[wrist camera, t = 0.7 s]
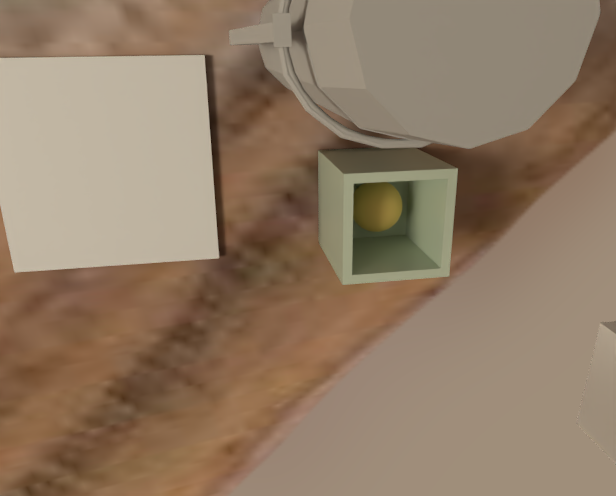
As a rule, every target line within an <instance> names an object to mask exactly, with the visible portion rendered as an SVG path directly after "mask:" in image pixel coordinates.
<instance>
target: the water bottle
mask: <svg viewBox="0 0 616 496" xmlns="http://www.w3.org/2000/svg"><path fill="white" fill-rule="evenodd" d="M600 13H601V12H600V0H269V1H268V3H267V4H266V5H265V6H264V7H263V9H262V14H261V19H260V24H259V25H255V26H250V27H245V28H239V29H234V30H229V38H230V45H252V44H258V45H259V48H260V51H261V55H262V58H263V61H264V64H265V68H266V69H267V70H268V71H269V72H271V73H272V74H273V75H274V76H275V77H276V78H277V79H278V80H279V81H280V82H281V83H282V84H283V85H284V86H285V87H286V88H288V89H290V90H292V91H293V92H294V93H295V95H296V97H297V98H298V100H299V101H300V103H301V104H302V106H303V107H304V109H305V110H306V111H307V112H308V113H309V114H310V115H312V116H313V117H314V118H316V119H317V120H318V121H320V122H321V123H322V124H324V125H325V126H326V127H327V128H329V129H330V130H331V131H333V132H334V133H335V134H337V135H338V136H339V137H341V138H344V139H347V140H351V141H355V142H359V143H363V144H366V145H370V146H374V147H378V148H422V147H424V146H427V145H429V144H432V143H437V144H443V145H449V146H455V147H461V148H467V149H471V148H474V147H477V146H480V145H483V144H486V143H489V142H492V141H495V140H498V139H501V138H504V137H507V136H510V135H513V134H516V133H519V132H521V131H524V130H527V129H529V128H530V127H531V126H532V125H533V124H534V123H535V122H536V121H537V120H538V119H539V118H540V117H541V116H542V115H543V114H544V113H545V112H546V111H547V110H548V109H549V108H550V107H551V106H552V104H553V103H554V102H555V101H556V100H557V99H558V98H559V97H560V96H561V95H562V94H563V93H564V92H565V91H566V90H567V89H568V88H569V87H570V86H571V85H572V84H573V83H574V82H575V81H576V78H577V76H578V73H579V70H580V68H581V65H582V62H583V59H584V57H585V54H586V51H587V49H588V46H589V43H590V40H591V38H592V35H593V32H594V30H595V27H596V24H597V21H598V19H599V16H600ZM315 103H317V104H319V105H321V106H322V107H324V108H326V109H328V110H330V111H332V112H334V113H336V114H338V115H340V116H342V117H344V118H346V119H348V120H349V121H351V122H353V123H354V124H355V125H356V126H357V127H358V128H360V129H364V130H368V131H372V132H377V133H381V134H385V135H390V136H394V137H399V138H403V139H384V138H379V137H373V136H368V135H364V134H362V133H359V132H356V131H354V130H351V129H348V128H347V127H345V126H343V125H342V124H340V123H339V122H337V121H335V120H334V119H332V118H331V117H330V116H328V115H327V114H326V113H325V112H324V111H323V110H322V109H321V108H320V107H318V106H317V105H316V104H315Z"/></svg>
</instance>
